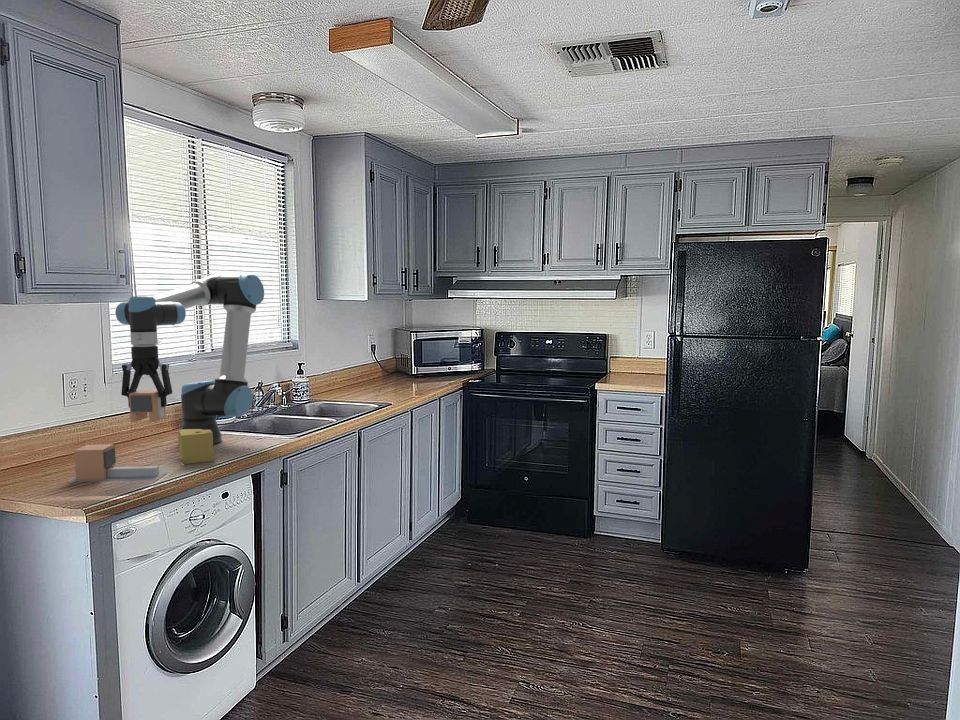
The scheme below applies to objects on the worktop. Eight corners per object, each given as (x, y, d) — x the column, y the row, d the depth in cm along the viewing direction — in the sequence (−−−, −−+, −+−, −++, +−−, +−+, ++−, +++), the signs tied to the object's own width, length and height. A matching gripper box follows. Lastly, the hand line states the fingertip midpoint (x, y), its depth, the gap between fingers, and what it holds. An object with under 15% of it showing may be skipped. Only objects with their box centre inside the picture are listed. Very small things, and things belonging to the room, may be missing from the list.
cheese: (211, 455, 237) (210, 426, 236) (215, 461, 227) (213, 432, 226) (179, 458, 232) (177, 429, 231) (181, 465, 223) (179, 435, 222)
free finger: (129, 422, 210) (128, 393, 209) (142, 417, 219) (140, 389, 218) (154, 422, 210) (152, 393, 210) (165, 417, 219) (164, 389, 218)
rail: (84, 475, 210) (83, 464, 210) (167, 473, 212) (166, 462, 211) (66, 484, 200) (66, 473, 200) (154, 482, 202) (153, 471, 201)
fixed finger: (88, 473, 209) (86, 444, 208) (117, 472, 209) (115, 444, 208) (76, 480, 201) (74, 450, 200) (106, 479, 202) (104, 449, 201)
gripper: (105, 346, 208) (109, 420, 211) (172, 346, 209) (176, 419, 211) (117, 344, 216) (121, 415, 218) (182, 344, 217) (185, 414, 219)
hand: (148, 417), depth 215 cm, fingers closed on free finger, 7 cm apart
